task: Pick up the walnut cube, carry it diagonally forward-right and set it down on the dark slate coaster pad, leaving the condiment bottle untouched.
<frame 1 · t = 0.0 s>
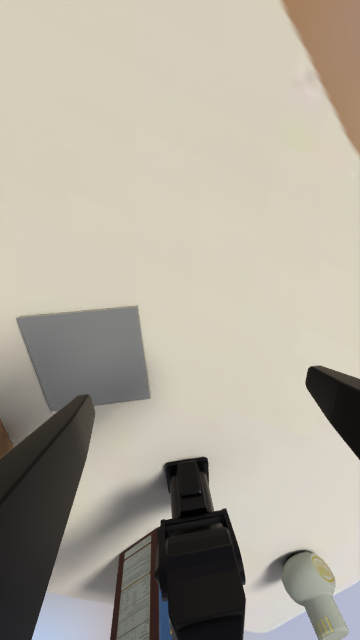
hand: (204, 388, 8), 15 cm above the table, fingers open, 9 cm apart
protein box: (167, 550, 39), on the table
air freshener: (298, 556, 46), on the table
slate pad: (92, 360, 23), on the table
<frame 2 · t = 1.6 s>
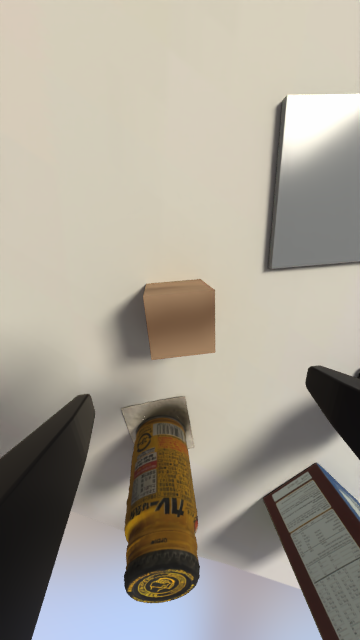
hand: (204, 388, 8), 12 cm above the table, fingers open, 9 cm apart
protein box: (310, 496, 33), on the table
walnut cube: (175, 307, 19), on the table
slate pad: (340, 191, 17), on the table
condiment: (160, 426, 25), on the table
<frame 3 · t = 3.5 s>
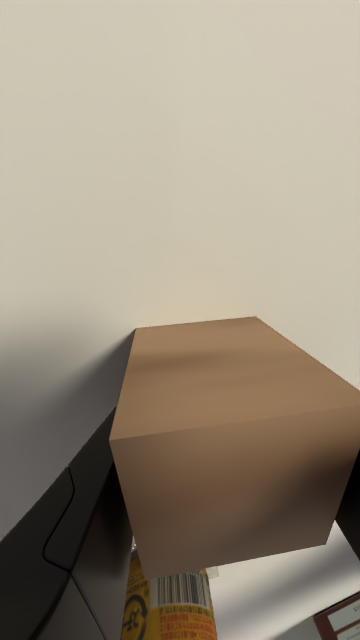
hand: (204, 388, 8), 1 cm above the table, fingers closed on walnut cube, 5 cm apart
walnut cube: (199, 373, 9), on the table, touching gripper
condiment: (163, 551, 14), on the table
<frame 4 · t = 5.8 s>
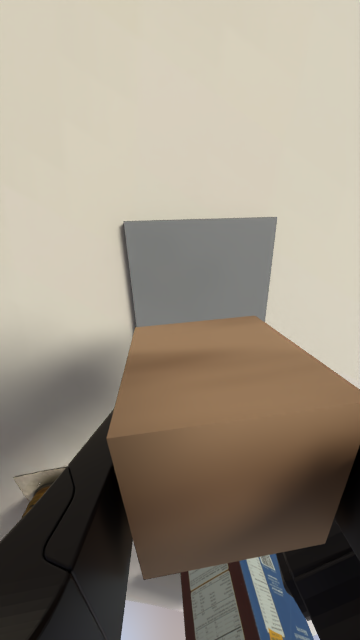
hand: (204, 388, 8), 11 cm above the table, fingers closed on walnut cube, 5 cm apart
protein box: (229, 545, 34), on the table
walnut cube: (198, 372, 9), point 10 cm above the table, touching gripper
slate pad: (201, 293, 18), on the table
condiment: (59, 490, 25), on the table
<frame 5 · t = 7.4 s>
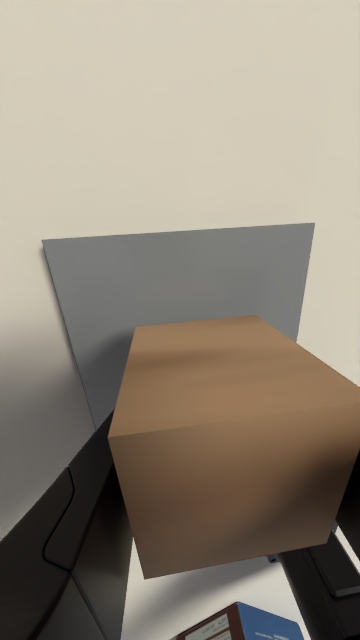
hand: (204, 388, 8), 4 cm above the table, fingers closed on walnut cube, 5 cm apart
protein box: (240, 625, 28), on the table
walnut cube: (199, 372, 9), point 2 cm above the table, touching gripper
slate pad: (190, 346, 11), on the table
when the fingers open (3 cm above the table, at t = 8.3 s): walnut cube drops 1 cm, resting on slate pad.
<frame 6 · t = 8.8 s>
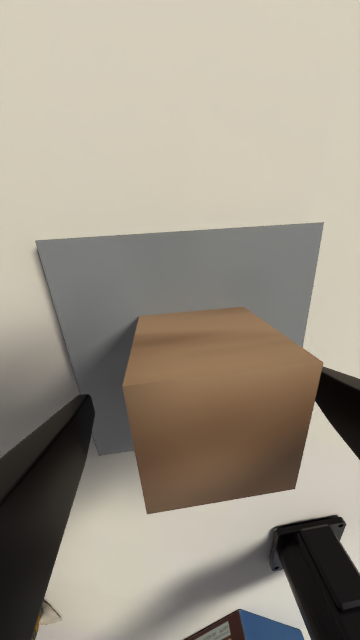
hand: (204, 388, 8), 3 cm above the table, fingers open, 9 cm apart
protein box: (241, 632, 27), on the table
walnut cube: (194, 357, 10), point 1 cm above the table, touching slate pad
slate pad: (191, 351, 11), on the table
condiment: (6, 604, 18), on the table
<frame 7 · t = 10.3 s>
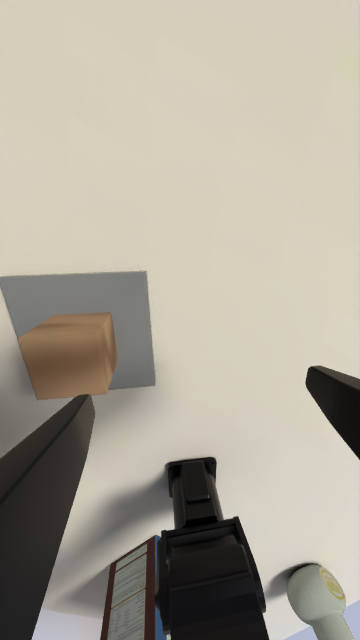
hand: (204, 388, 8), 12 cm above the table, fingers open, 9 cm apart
protein box: (163, 561, 35), on the table
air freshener: (304, 570, 43), on the table
walnut cube: (87, 338, 19), point 1 cm above the table, touching slate pad
slate pad: (89, 336, 20), on the table
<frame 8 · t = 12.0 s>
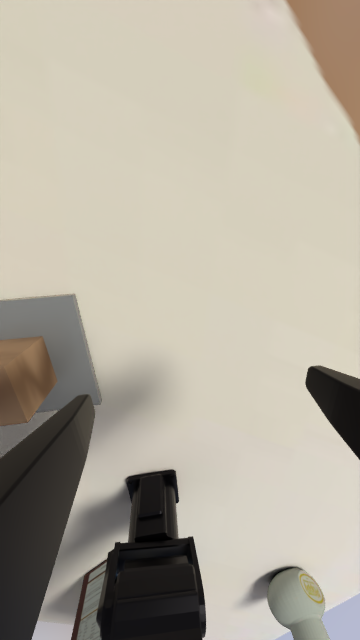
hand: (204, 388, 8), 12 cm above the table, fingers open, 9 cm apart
protein box: (139, 569, 36), on the table
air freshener: (285, 573, 43), on the table
walnut cube: (22, 362, 19), point 1 cm above the table, touching slate pad
slate pad: (26, 359, 20), on the table
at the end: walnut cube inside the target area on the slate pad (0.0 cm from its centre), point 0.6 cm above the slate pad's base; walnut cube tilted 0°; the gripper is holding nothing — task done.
